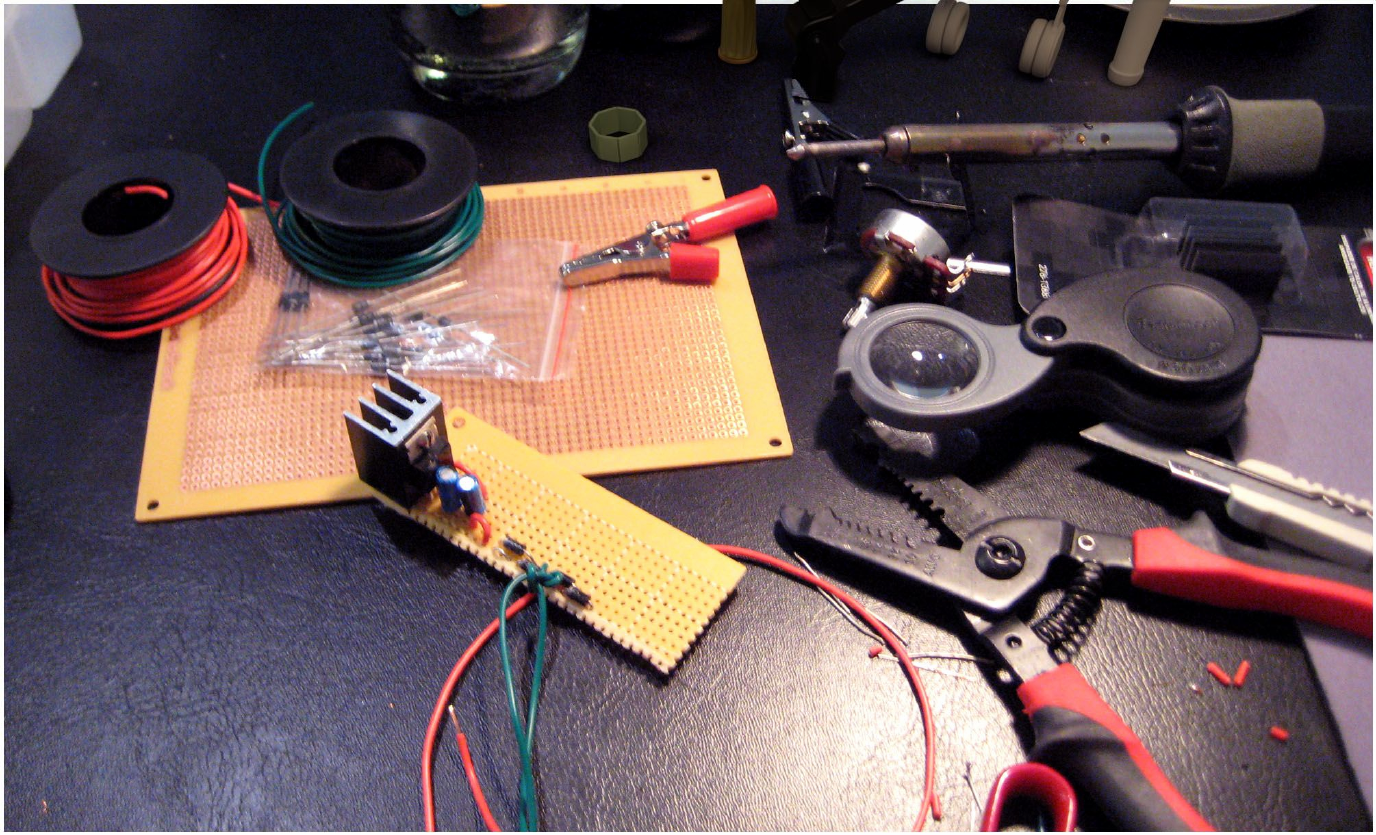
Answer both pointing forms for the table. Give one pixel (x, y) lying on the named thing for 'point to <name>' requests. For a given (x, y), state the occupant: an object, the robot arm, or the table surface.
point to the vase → (738, 29)
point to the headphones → (1037, 47)
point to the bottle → (1137, 41)
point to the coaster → (736, 60)
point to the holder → (615, 122)
